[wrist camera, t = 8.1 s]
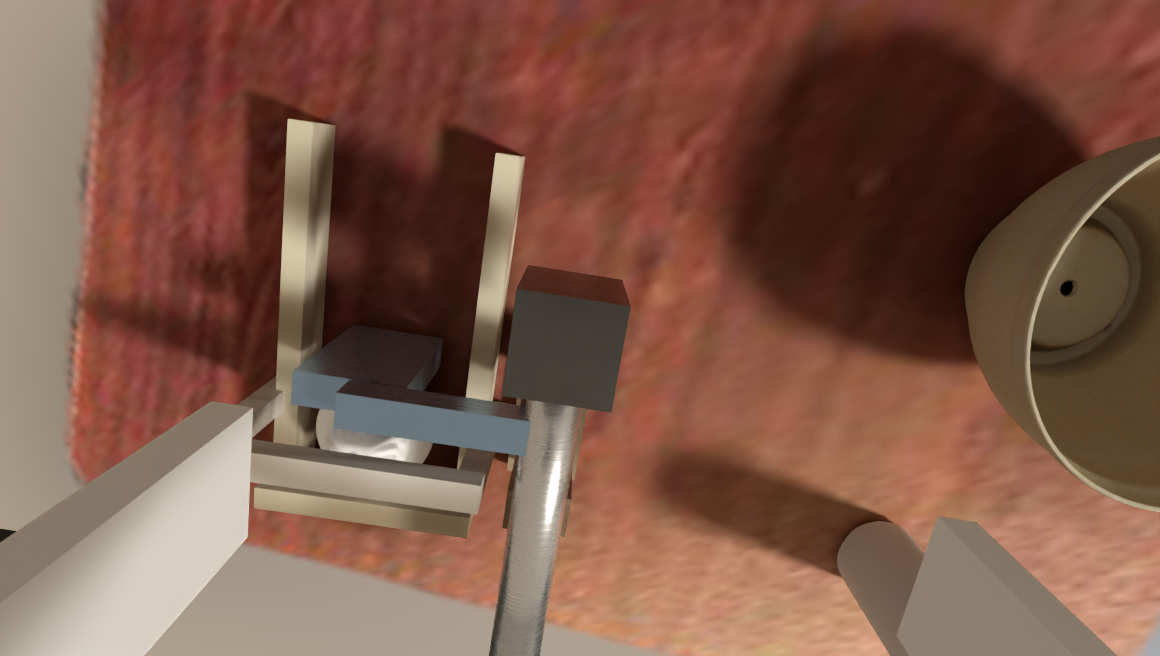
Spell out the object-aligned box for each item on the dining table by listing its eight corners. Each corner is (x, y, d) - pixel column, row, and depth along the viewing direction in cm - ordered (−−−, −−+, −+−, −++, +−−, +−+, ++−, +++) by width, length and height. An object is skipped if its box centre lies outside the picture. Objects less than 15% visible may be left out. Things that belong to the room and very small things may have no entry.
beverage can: (831, 586, 41) (928, 754, 30) (834, 517, 40) (937, 665, 29) (908, 583, 41) (1036, 750, 30) (914, 514, 40) (1049, 661, 28)
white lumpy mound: (340, 449, 39) (290, 511, 32) (340, 351, 38) (287, 394, 31) (444, 458, 39) (416, 522, 32) (449, 360, 38) (420, 406, 31)
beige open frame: (296, 119, 34) (183, 104, 24) (540, 159, 35) (524, 160, 25) (280, 462, 39) (181, 564, 30) (493, 493, 40) (465, 603, 30)
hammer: (362, 212, 35) (240, 245, 22) (613, 252, 35) (630, 306, 23) (336, 556, 40) (226, 737, 28) (555, 586, 41) (543, 778, 28)
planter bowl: (1232, 131, 34) (1519, 120, 24) (1156, 419, 38) (1373, 518, 28) (924, 124, 34) (1076, 111, 24) (882, 413, 38) (995, 511, 28)
